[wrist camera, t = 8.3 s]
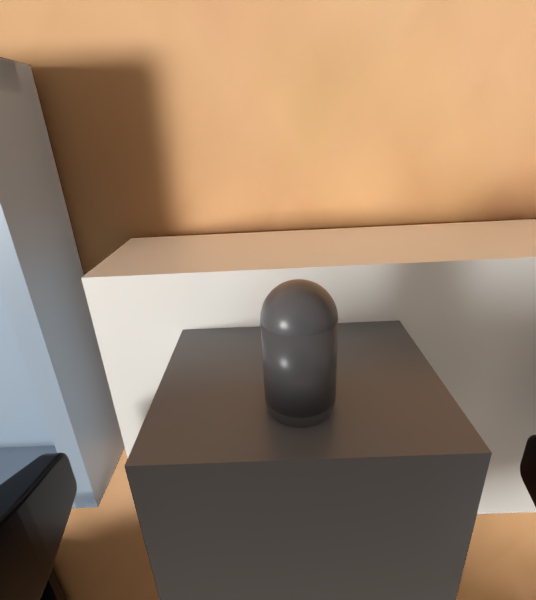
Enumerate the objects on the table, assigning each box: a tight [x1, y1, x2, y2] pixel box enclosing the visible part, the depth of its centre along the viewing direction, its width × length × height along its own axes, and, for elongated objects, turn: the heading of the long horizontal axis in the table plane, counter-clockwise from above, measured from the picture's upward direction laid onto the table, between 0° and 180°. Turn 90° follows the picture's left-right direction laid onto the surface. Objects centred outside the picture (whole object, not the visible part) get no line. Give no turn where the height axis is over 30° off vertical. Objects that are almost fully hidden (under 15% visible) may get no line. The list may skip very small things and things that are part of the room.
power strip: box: [81, 219, 536, 514], centre depth 8 cm, size 9×16×6 cm, turn 93°
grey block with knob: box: [125, 279, 492, 600], centre depth 8 cm, size 6×4×6 cm
